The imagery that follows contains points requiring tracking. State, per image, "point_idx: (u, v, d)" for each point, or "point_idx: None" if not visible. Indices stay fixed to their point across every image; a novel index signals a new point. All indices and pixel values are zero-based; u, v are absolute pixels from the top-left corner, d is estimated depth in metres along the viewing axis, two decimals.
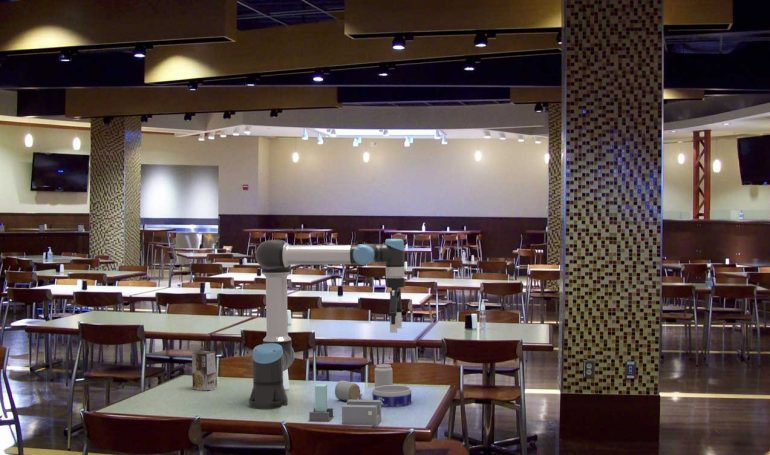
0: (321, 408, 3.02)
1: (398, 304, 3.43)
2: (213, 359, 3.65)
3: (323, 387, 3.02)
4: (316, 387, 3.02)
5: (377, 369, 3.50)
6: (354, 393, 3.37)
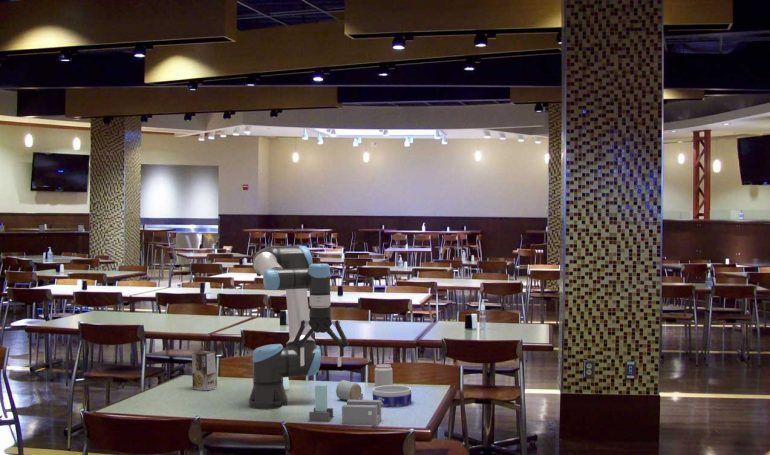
0: (321, 408, 3.02)
1: None
2: (213, 359, 3.65)
3: (323, 387, 3.02)
4: (316, 387, 3.02)
5: (377, 369, 3.50)
6: (356, 393, 3.38)
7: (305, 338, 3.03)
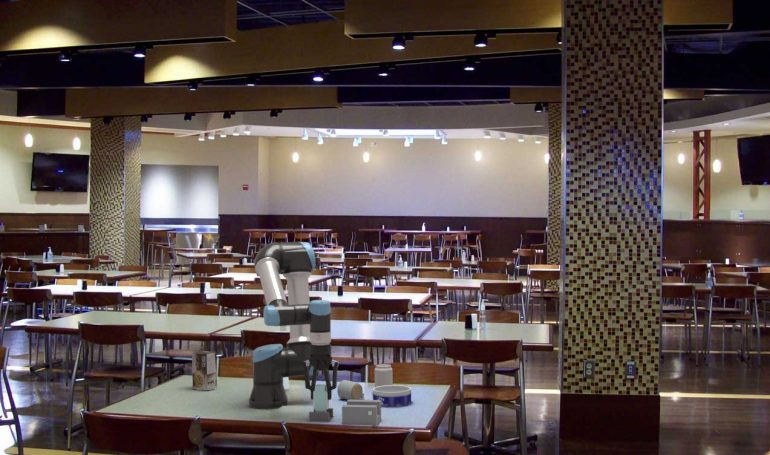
0: (321, 408, 3.02)
1: None
2: (213, 359, 3.65)
3: (323, 387, 3.02)
4: (316, 387, 3.02)
5: (377, 369, 3.50)
6: (357, 393, 3.38)
7: (313, 379, 3.03)
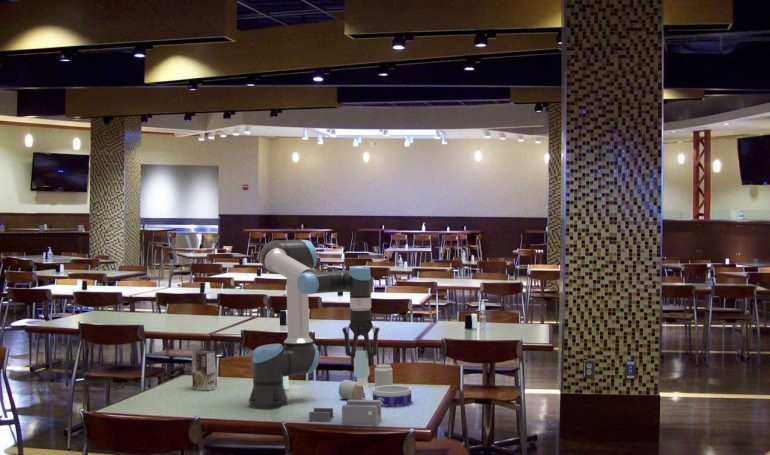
0: (362, 374, 2.98)
1: None
2: (213, 359, 3.65)
3: (364, 353, 2.98)
4: (357, 353, 2.99)
5: (377, 369, 3.50)
6: (358, 392, 3.39)
7: (354, 345, 3.00)
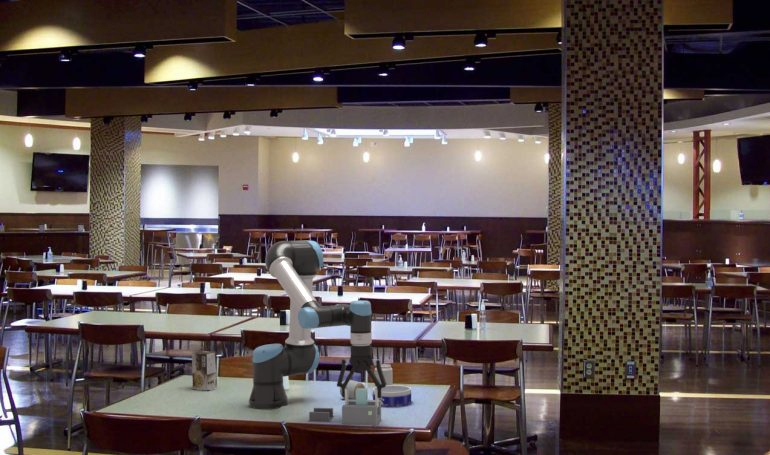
0: None
1: None
2: (213, 359, 3.65)
3: (364, 391, 2.99)
4: (357, 391, 2.99)
5: None
6: None
7: (348, 378, 3.00)
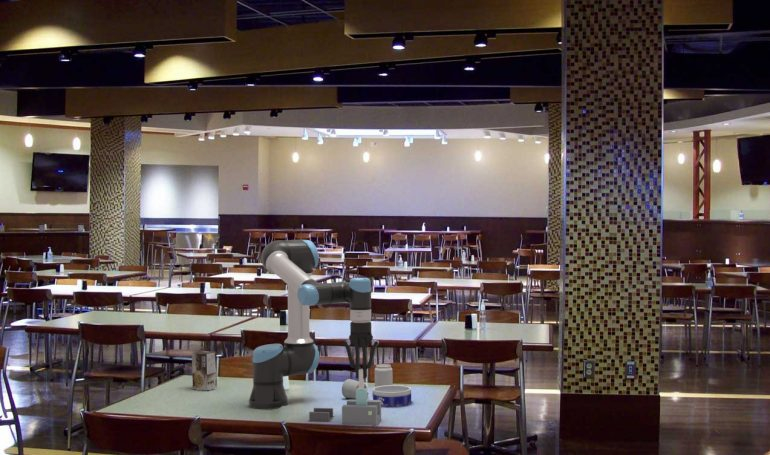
0: None
1: None
2: (213, 359, 3.65)
3: (364, 391, 2.99)
4: (357, 391, 2.99)
5: (377, 369, 3.50)
6: None
7: (357, 357, 3.00)
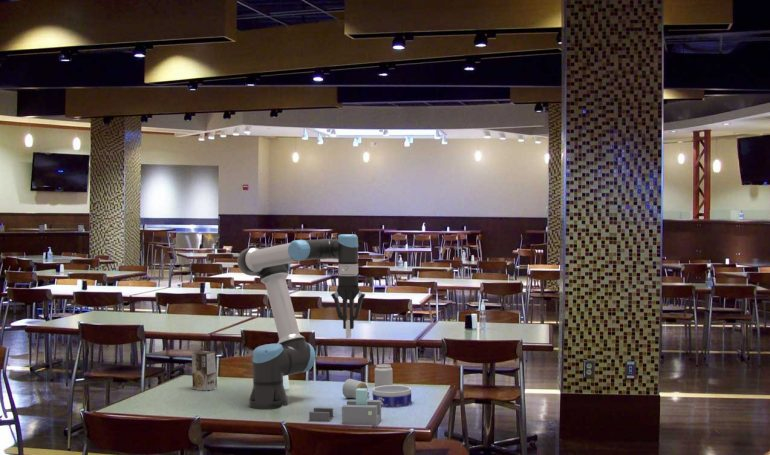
0: None
1: None
2: (213, 359, 3.65)
3: (364, 391, 2.99)
4: (357, 391, 2.99)
5: (377, 369, 3.50)
6: None
7: (344, 309, 3.18)
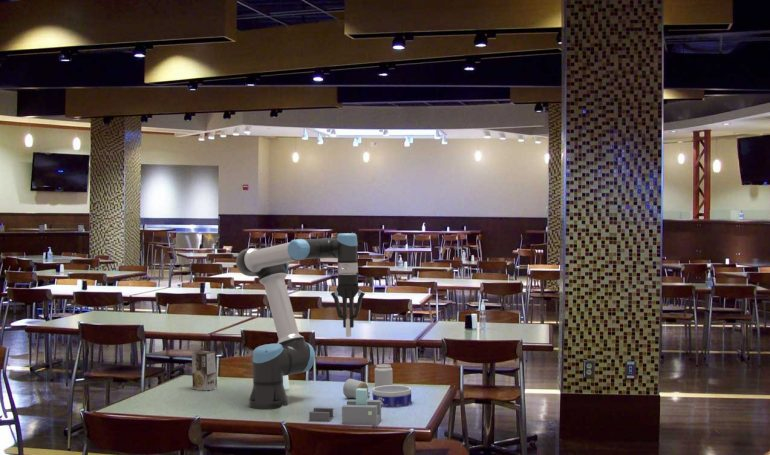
0: None
1: None
2: (213, 359, 3.65)
3: (364, 391, 2.99)
4: (357, 391, 2.99)
5: (377, 369, 3.50)
6: None
7: (344, 307, 3.18)
